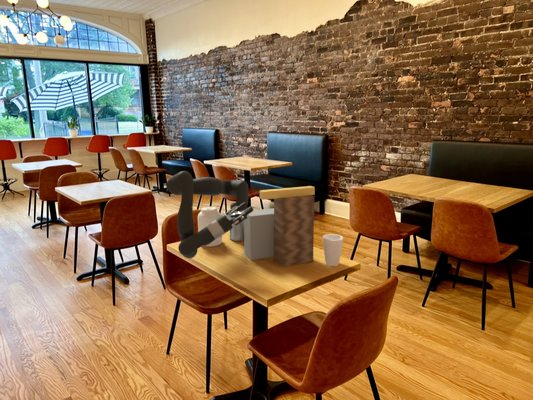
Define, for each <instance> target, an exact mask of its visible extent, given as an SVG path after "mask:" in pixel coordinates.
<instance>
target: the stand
mask: <svg viewBox="0 0 533 400" xmlns="http://www.w3.org/2000/svg"><path fill="white" fill-rule="evenodd" d="M273 208H274V257H273V258H274V259H273V260H274V261H276V262H277V264H278V265H280V266H281V267H288V266H289V267H290V266H295V265H301V264H306V263H307V264H308V263H314V237H315V236H314V235H315V234H314V233H315V228H314V227H315V195H306V196H295V197H285V198H274V199H273Z"/></svg>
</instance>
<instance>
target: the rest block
mask: <svg viewBox="0 0 533 400" xmlns="http://www.w3.org/2000/svg"><path fill="white" fill-rule="evenodd" d="M253 210H254V211H252V212H251V213H250V214H248V215H247V219H245V220H244V243H243V244H244V245H243V246H244V248H243V249H244V254H245V256H246V257H247V258H248V259H249V260H250V261H256V260H260V259H269V258H274V207H273V208H264V209H253Z"/></svg>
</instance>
